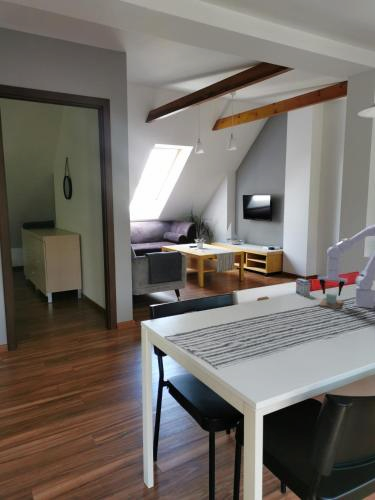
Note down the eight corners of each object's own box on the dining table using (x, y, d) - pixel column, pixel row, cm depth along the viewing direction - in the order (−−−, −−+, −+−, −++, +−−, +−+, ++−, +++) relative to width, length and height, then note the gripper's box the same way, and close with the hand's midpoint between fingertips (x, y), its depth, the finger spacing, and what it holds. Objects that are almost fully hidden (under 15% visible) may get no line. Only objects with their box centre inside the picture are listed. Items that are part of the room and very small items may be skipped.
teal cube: (336, 302, 202) (336, 293, 201) (334, 304, 198) (335, 295, 197) (327, 300, 204) (327, 292, 204) (325, 302, 200) (326, 294, 200)
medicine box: (295, 292, 226) (296, 278, 225) (302, 292, 227) (302, 278, 226) (303, 296, 219) (303, 281, 217) (309, 295, 220) (310, 281, 219)
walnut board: (342, 302, 205) (342, 300, 205) (339, 308, 193) (339, 306, 193) (323, 300, 210) (323, 298, 210) (319, 306, 198) (319, 304, 198)
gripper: (348, 269, 199) (347, 294, 201) (319, 267, 206) (318, 291, 208) (346, 271, 193) (345, 297, 195) (317, 269, 200) (316, 294, 201)
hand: (331, 294), depth 201 cm, fingers open, 7 cm apart
